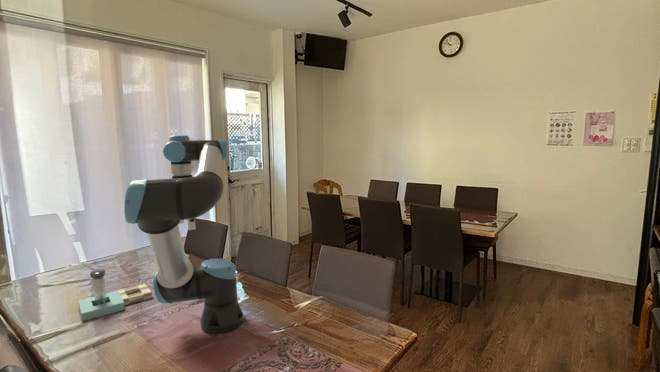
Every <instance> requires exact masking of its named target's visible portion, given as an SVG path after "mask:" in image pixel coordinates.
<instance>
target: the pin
mask: <svg viewBox="0 0 660 372" xmlns="http://www.w3.org/2000/svg"><path fill="white" fill-rule="evenodd" d="M89 276H90V277H89V278H91V280H92V288H93V297H95V305H96V306H97V305H101V304H105V303H107V296H106V294H107V290H106V282H105V281H106V280H105V276H106V270H104V269H99V270H94V271H92V272H90V273H89Z"/></svg>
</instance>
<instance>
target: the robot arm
mask: <svg viewBox="0 0 660 372" xmlns="http://www.w3.org/2000/svg"><path fill="white" fill-rule="evenodd" d="M228 150H229V148H228V142H227V140H226V139H225V140H224V139H207V140H206V139H204V140H203V139H200V140H190V137H189V136H188V135H169V137H168V142H167V143H166V144H165V145H164V146H163V149H162V153H163V156H164V158H165V159H166V160H168V161H169V162H170V169H171V170H170V171H171V173H170V174H171V175H172V176H171V178H157V179H147V178H144V179H137V180H136V179H135V180H132V181H131V182H129V183H128V185H127V187H126V190H125V196H124V218H125V221H126V222H127V224H132V225H135V224H136V225H137V227H138V228H139V230H140V231H141V232H142V233H144V234H146V235H147V237H148V240H149V243H150V246H151V249H152V252H153V254H154V255H153V256H154V257H155V260H156V261H155V262H156V264H157V267H158V270H157V271H156V272H155V273H154V276H153V281H152V282H153V284H152V285H153V290H154V296H155V298H156V300H157V301H158V302H159V303H161V304H174V303H181V302H182V303H183V302H188V301H189V302H190V301H198V300H199V301H200V300H203V302H204V305H203V310H202V313H201V317H200V329H201V330H202V331H203V332H205V333H208V334H224V333H228V332H230V331H231V332H232V331H234V330H236V329H237V328H238V327H240V326H241V325H242V324H243V323H244V311H243V310H242V307H241V305H240V302H239V300H238V287H237V285H238V284H237V277H238V276H237V275H238V274H237V271H236V270H237V269H236V265H235V264H234V263H233V262H232V261H231V260H228V259H224V258H209V259H205V260H204V261H202V262H201V264H200V265H193V264H192V262H191V261H190V260H188V259H187V256H186V252H185V248H184V245H183V244H184V243H183V239H182V236H181V230H180V227H179V225H182V224H185V220H187V230H188V231H192V230H196V229H197V228H196V218H199V217H201V216H203V215H205V214H206V213H209V211H211V210H212V209H214V208H215V207H216V205H217V204H218V203H219V201H220V200H221V199H222V196H223V194H224V193H223V192H224V181H223V179H222V177H221V176H222V175H221V173H222V161H223V160H227V159H228V158H229V151H228ZM194 161H198V162H197V167H196V171H195V174H194V175H192V173H193V170H192V168H193V165H192V162H194Z"/></svg>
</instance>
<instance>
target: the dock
mask: <svg viewBox="0 0 660 372" xmlns="http://www.w3.org/2000/svg"><path fill="white" fill-rule="evenodd" d="M106 296H107V303H105V304H101V305H97V306H96V305H95V297H94V296H92V297H91V296H90V297H87V298H83V299H79V300H78V307H79V312H80V317H81V320H82V322H85V321H88V320H92V319H96V318H100V317H103V316H106V315H110V314H113V313H118V312H120V311H124V310H125V306H126V305H124V301H123V299H122V297H121V295H120V293H119V292H118V291H117V290H114V291H111V292H108V293H107V292H106Z"/></svg>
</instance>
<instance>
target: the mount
mask: <svg viewBox="0 0 660 372" xmlns="http://www.w3.org/2000/svg"><path fill="white" fill-rule="evenodd" d="M116 291H118V292H119V293H120V295H121V297H122V299H123V301H124V306H127V305H131V304H134V303H138V302H141V301H145V300H149V299H152V298H153V292H152V291H151V289H150V288H149V286H148V285H147V283H141V284H137V285H133V286H129V287H125V288H120V289H117V290H116Z"/></svg>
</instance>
